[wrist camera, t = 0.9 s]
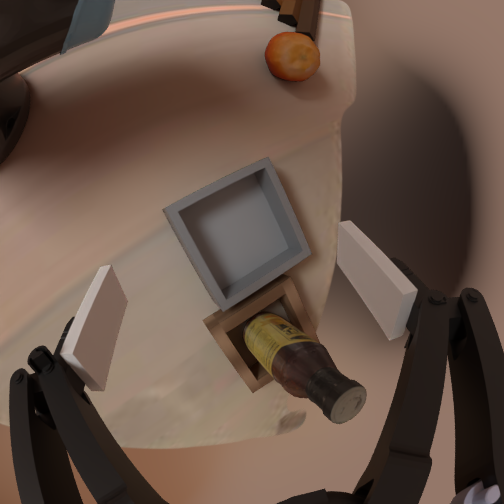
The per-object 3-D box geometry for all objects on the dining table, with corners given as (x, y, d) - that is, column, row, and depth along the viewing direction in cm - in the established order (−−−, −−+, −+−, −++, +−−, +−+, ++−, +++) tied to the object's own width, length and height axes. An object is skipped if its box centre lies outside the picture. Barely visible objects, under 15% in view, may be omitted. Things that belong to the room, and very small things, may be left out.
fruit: (300, 38, 33) (331, 37, 28) (295, 80, 38) (324, 86, 32) (254, 30, 30) (280, 25, 25) (250, 75, 35) (273, 79, 30)
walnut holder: (202, 320, 34) (208, 330, 31) (278, 272, 37) (290, 277, 34) (243, 380, 38) (252, 393, 34) (307, 336, 41) (320, 344, 38)
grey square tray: (162, 209, 31) (165, 207, 27) (253, 163, 34) (268, 156, 30) (213, 300, 34) (223, 311, 30) (293, 249, 38) (311, 253, 34)
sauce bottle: (288, 324, 39) (388, 389, 21) (261, 357, 38) (346, 440, 20) (258, 299, 37) (360, 364, 19) (229, 334, 36) (309, 426, 18)
